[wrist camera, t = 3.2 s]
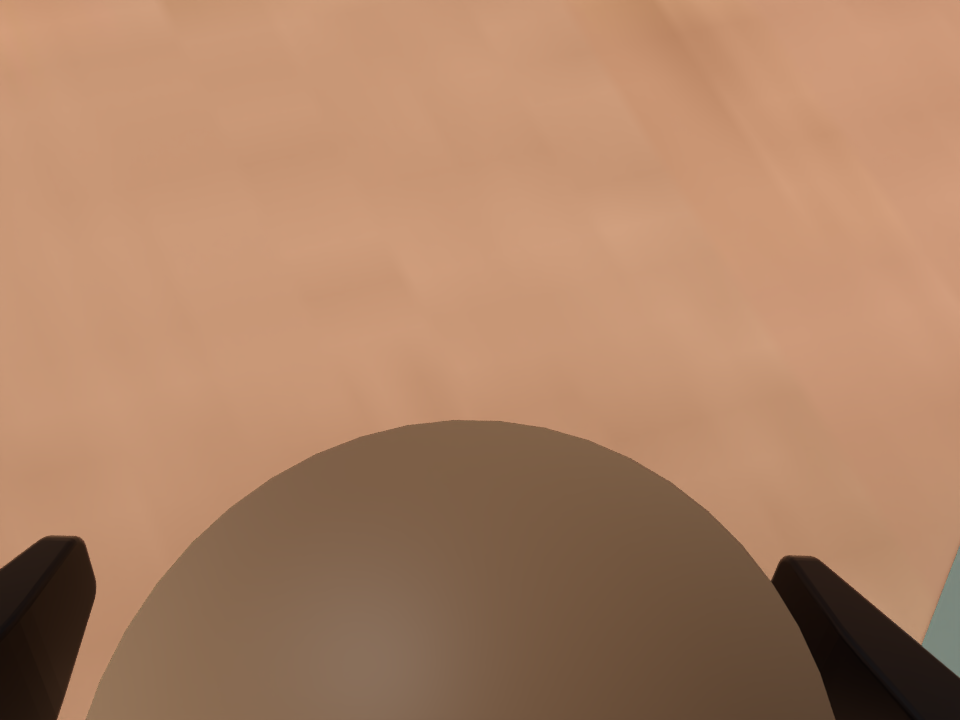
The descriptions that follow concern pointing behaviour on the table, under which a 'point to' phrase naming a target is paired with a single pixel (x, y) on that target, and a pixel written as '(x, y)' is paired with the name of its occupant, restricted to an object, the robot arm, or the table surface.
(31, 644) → the robot arm
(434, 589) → the peg
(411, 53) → the table surface
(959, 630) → the socket block
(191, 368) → the table surface
